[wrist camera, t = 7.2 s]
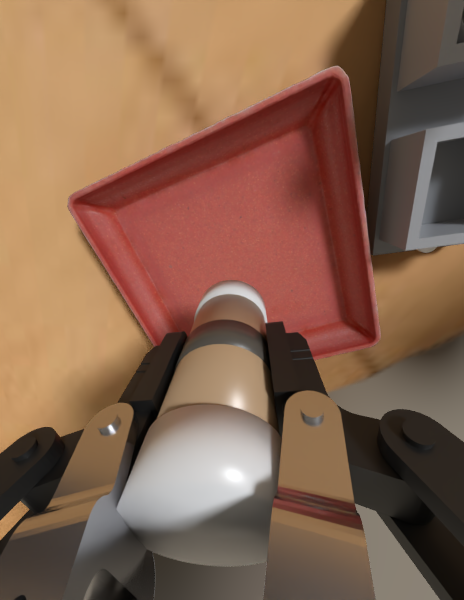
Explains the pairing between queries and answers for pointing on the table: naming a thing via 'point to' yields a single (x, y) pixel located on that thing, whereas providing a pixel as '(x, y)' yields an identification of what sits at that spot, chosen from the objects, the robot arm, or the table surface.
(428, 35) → the block
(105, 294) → the table surface
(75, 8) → the table surface
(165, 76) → the table surface
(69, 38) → the table surface
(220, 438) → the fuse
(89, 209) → the plant saucer
